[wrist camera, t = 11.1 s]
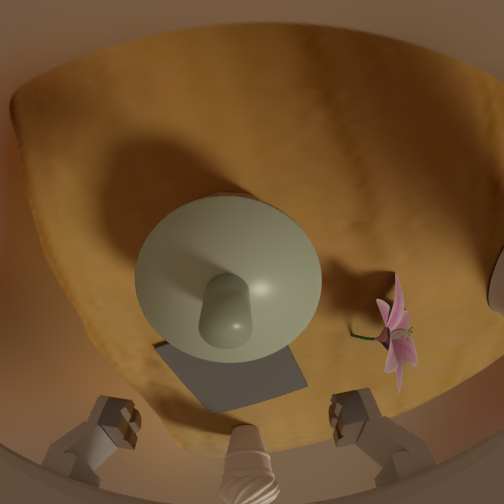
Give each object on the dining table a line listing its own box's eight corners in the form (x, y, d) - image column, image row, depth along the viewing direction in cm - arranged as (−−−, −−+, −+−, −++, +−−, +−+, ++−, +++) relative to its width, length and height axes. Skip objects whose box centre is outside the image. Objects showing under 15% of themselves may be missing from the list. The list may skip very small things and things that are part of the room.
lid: (277, 160, 17) (292, 166, 12) (338, 319, 21) (359, 359, 17) (106, 246, 18) (74, 276, 13) (195, 373, 22) (189, 415, 18)
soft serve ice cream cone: (221, 415, 35) (219, 513, 20) (277, 418, 36) (291, 512, 21) (217, 441, 38) (216, 524, 23) (267, 443, 39) (276, 523, 24)
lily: (393, 347, 34) (448, 361, 25) (329, 390, 29) (386, 421, 20) (382, 265, 33) (445, 265, 24) (310, 298, 29) (377, 309, 20)
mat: (267, 305, 28) (268, 307, 28) (307, 384, 33) (307, 386, 33) (155, 346, 30) (154, 348, 29) (212, 412, 35) (212, 414, 34)
